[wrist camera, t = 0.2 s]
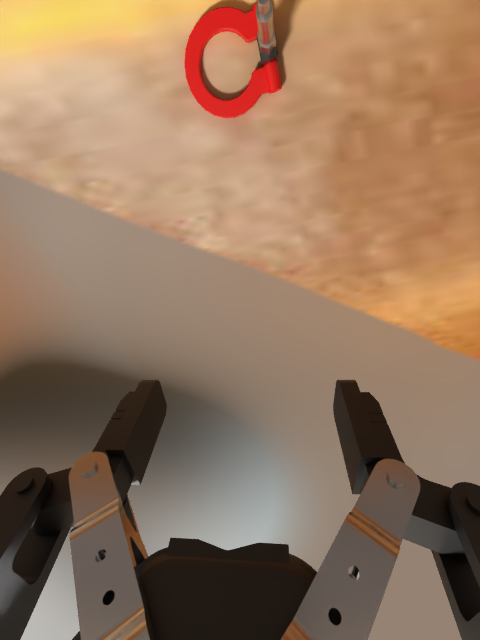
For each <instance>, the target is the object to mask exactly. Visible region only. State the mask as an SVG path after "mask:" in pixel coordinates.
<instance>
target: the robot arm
mask: <svg viewBox="0 0 480 640" xmlns="http://www.w3.org/2000/svg"><path fill="white" fill-rule="evenodd" d="M166 410H167V406H166V400H165V398H164V394H163V391H162V388H161V385H160V382H159V381H158V380H142V381H141V382H140V383H139V385H138V387H137V389H136V391H135V392H129V393H128V394H127V395H126V396H125V397H124V398H123V399H122V400H121V401H120V403H119V405H118V407H117V408H116V412H114V414H113V416H112V417H111V420H110V421H109V423H108V425H107V426H106V428H105V430H104V432H103V434H102V436H101V437H100V439H99V441H98V443H97V445H96V447H95V448H94V450H93V451H92V453H89V454H86V455H85V456H83V457H82V458H80V459H79V460H78V461H77V462H76V463H75V464H74V465H73V467H72V468H69V469H65V470H62V471H59V472H55V473H52V474H47V473H46V472H45V470H44V469H42V468H31V469H28V470H26V471H24V472H22V473H20V474H19V475H18V476H16V477H15V478H14V479H13V480H12V481H11V482H10V483H9V484H8V485H7V487H6V488H5V490H4V491H3V493H2V494H1V496H0V640H20V639H21V637H22V634H23V632H24V630H25V628H26V626H27V623H28V621H29V619H30V617H31V614H32V612H33V610H34V608H35V605H36V603H37V601H38V599H39V597H40V594H41V592H42V590H43V588H44V586H45V583H46V581H47V579H48V577H49V574H50V572H51V570H52V568H53V566H54V563H55V561H56V559H57V557H58V554H59V552H60V550H61V548H62V545H63V543H64V541H65V539H66V537H67V534H68V532H69V530H70V528H71V527H73V526H74V529H72V530H71V532H70V545H71V554H72V563H73V570H74V571H73V572H74V581H75V589H76V599H77V607H78V617H79V625H80V631H79V632H78V633H77V634H76V636H75V637H74V638H73V639H72V640H368V637H369V634H370V631H371V629H372V626H373V623H374V621H375V618H376V615H377V612H378V609H379V607H380V604H381V601H382V598H383V596H384V593H385V590H386V587H387V584H388V581H389V579H390V576H391V573H392V570H393V568H394V565H395V562H396V559H397V556H398V554H399V550H400V545H401V542H402V539H406V540H409V541H411V542H413V543H416V544H418V545H421V546H423V547H426V548H428V549H431V551H432V554H433V556H434V559H435V562H436V565H437V568H438V571H439V574H440V577H441V580H442V583H443V586H444V589H445V591H446V594H447V597H448V600H449V603H450V606H451V609H452V612H453V615H454V617H455V620H456V623H457V626H458V629H459V632H460V635H461V638H462V640H480V486H478V485H475V484H472V483H467V482H461V483H457V484H455V485H454V486H453V487H452V488H449V487H446V486H443V485H440V484H437V483H434V482H431V481H428V480H425V479H423V478H421V477H419V476H418V475H416V474H415V472H414V471H413V470H412V469H411V468H410V467H409V466H407V465H406V464H405V463H404V461H403V459H402V457H401V455H400V453H399V450H398V448H397V445H396V443H395V441H394V438H393V436H392V434H391V431H390V429H389V426H388V424H387V421H386V419H385V417H384V415H383V412H382V410H381V407H380V405H379V402H378V401H377V400H376V399H375V398H374V397H373V396H372V395H371V394H370V393H369V392H360V390H359V387H358V385H357V382H356V381H355V380H337V382H336V388H335V397H334V404H333V411H334V418H335V423H336V427H337V431H338V435H339V439H340V444H341V448H342V452H343V456H344V460H345V465H346V469H347V473H348V477H349V481H350V486H351V490H352V494H360V496H359V498H358V500H357V502H356V504H355V506H354V508H353V510H352V512H350V513H349V514H348V515H347V517H346V519H345V521H344V522H343V524H342V526H341V528H340V530H339V532H338V534H337V536H336V538H335V540H334V542H333V544H332V545H331V547H330V549H329V551H328V553H327V555H326V557H325V559H324V561H323V563H322V565H321V567H320V568H319V571H318V572H316V571H315V570H314V569H313V568H312V567H311V566H310V565H308V564H307V563H306V562H305V561H303V560H301V559H300V558H298V557H296V556H294V555H291V554H289V547H288V545H287V544H270V543H256V544H252V545H248V546H244V547H240V548H237V549H233V550H224V549H221V548H218V547H216V546H214V545H211V544H209V543H206V542H203V541H201V540H199V539H182V538H171V539H170V542H169V546H168V547H167V548H164V549H162V550H159V551H157V552H155V553H154V554H152V555H150V556H149V557H148V554H147V552H146V549H145V546H144V544H143V542H142V539H141V536H140V533H139V530H138V526H137V523H136V520H135V516H134V513H133V509H132V506H131V503H130V500H129V497H128V494H127V493H128V490H129V488H130V486H131V485H141V482H142V479H143V476H144V474H145V471H146V468H147V465H148V463H149V460H150V457H151V454H152V452H153V449H154V446H155V443H156V441H157V438H158V435H159V432H160V429H161V427H162V424H163V421H164V418H165V416H166Z"/></svg>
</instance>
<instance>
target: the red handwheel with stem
mask: <svg viewBox="0 0 480 640" xmlns="http://www.w3.org/2000/svg"><path fill="white" fill-rule="evenodd" d="M257 2H258V3H257V4H255V5H254V6H253V10H251V11H249V12H247V13H244V12H242V11H241V10H239V9H235V8H231V7H223V8H216V9H214V10H212V11H210V12H209V13H207V14H205V15H204V16H203V17H202V18H201V19H200V20H199V21H198V22H197V23H196V25H195V27H194V29H193V30H192V32H191V34H190V36H189V40H188V43H187V47H186V52H185V71H186V78H187V81H188V84H189V87H190V90H191V92H192V94H193V95H194V97H195V99H196V101H197V102H198V103H199V104H200V105H201V106H202V107H203V108H204V109H205V110H206V111H208V112H210V113H211V114H213V115H215V116H219V117H223V118H232V117H237V116H239V115H242V114H244V113H246V112H247V111H248V110H249V109H250V108H252V107H253V106H254V104H255V103H256V102H257V100H258V99H259V98H260V96H261V95H262V94H265V93H267V92H268V93H274V92H276V91H279V90H280V89H281V88H282V87H281V81H280V75H279V69H278V64H277V61H278V52H277V46H276V37H275V31H274V27H273V6H272V3H271V1H270V0H257ZM225 31H230V32H234V33H236V34H238V35H239V36H241V37H242V38H243V39H244V40H245V41H246V42H248V43H250V42H252V41H254V40H257V41H258V47H259V52H260V57H261V63H262V66H263V67H262V68H259V69H257V70H254V72H253V73H252V78H251V80H250V83H249V85H248V87H247V88H246V90H245V91H244V92H243V93H242V94H241V95H240V96H239V97H237V98H235V99H232V100H221V99H218V98H216V97H214V96H213V95H212V94H211V93H210V92H209V91H208V90H207V88H206V86H205V84H204V82H203V79H202V75H201V57H202V53H203V50H204V48H205V46H206V44H207V43H208V41H209V40H210V39H211V38H212V37H213V36H214V35H216V34H218V33H220V32H225Z"/></svg>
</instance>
